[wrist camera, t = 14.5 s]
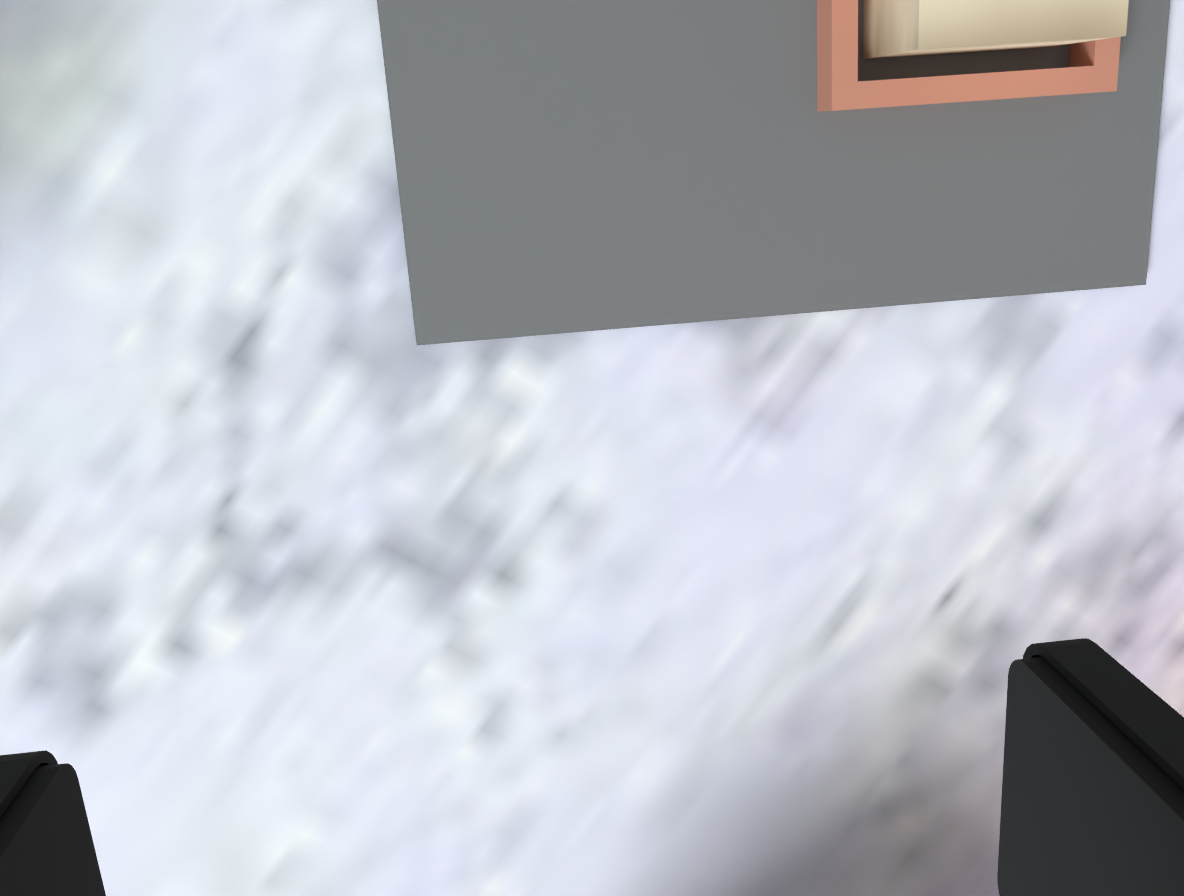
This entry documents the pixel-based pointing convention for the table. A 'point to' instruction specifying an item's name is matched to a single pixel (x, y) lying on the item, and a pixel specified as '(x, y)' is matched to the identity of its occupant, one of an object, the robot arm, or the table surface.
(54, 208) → the table surface
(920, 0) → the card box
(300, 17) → the table surface
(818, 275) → the mat
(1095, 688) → the robot arm
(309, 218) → the table surface
